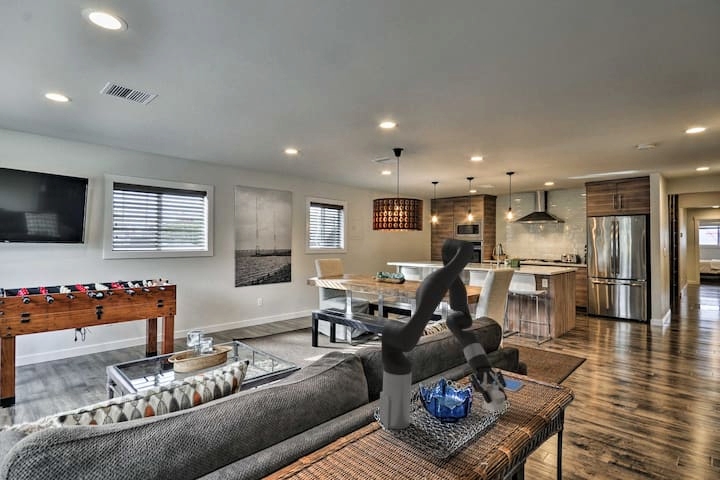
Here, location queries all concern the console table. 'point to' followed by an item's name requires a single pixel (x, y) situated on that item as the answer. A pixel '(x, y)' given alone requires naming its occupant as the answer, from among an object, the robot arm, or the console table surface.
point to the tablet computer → (511, 385)
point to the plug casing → (495, 399)
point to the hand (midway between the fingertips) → (497, 401)
